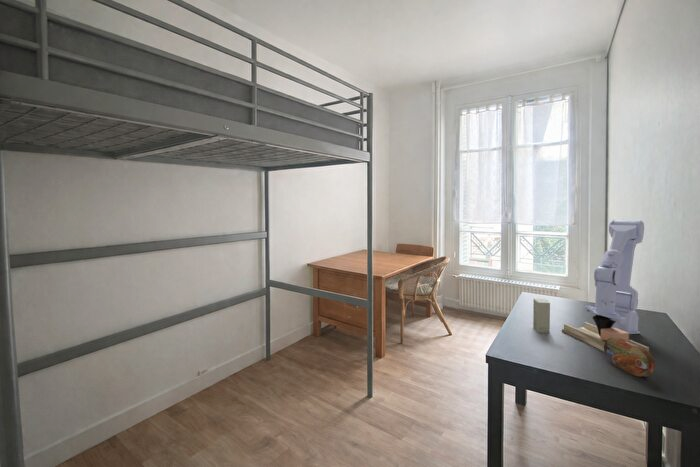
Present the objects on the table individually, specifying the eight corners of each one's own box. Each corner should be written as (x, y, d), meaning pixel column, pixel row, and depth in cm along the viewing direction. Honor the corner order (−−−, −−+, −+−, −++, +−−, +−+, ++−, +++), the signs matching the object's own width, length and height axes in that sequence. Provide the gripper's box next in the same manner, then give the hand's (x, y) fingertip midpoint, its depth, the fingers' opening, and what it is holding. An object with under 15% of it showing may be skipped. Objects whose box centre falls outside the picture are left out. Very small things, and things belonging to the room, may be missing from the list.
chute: (587, 329, 135) (588, 321, 135) (650, 355, 112) (651, 346, 111) (561, 331, 133) (562, 323, 133) (619, 358, 110) (620, 349, 109)
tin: (602, 358, 111) (603, 333, 110) (611, 357, 111) (612, 333, 110) (646, 382, 96) (648, 354, 95) (656, 381, 96) (658, 353, 95)
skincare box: (549, 333, 132) (551, 303, 130) (537, 332, 132) (538, 302, 131) (543, 327, 138) (545, 298, 137) (532, 326, 139) (533, 298, 138)
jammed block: (614, 341, 121) (615, 327, 121) (627, 346, 116) (628, 332, 116) (600, 342, 120) (600, 328, 120) (613, 348, 115) (614, 334, 115)
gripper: (578, 295, 127) (577, 329, 129) (614, 306, 113) (612, 345, 114) (594, 294, 128) (592, 328, 130) (632, 305, 114) (629, 343, 115)
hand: (603, 336), depth 122 cm, fingers closed
